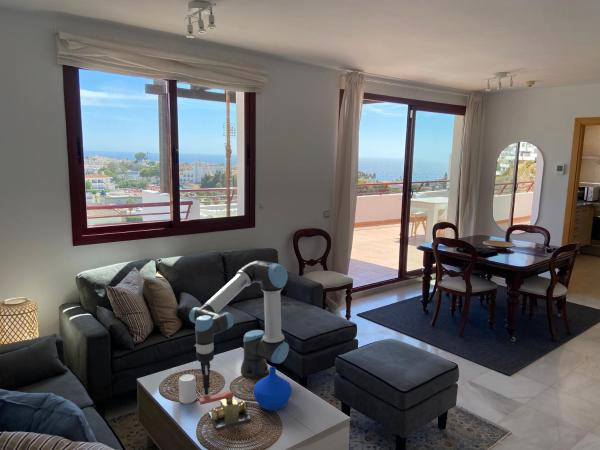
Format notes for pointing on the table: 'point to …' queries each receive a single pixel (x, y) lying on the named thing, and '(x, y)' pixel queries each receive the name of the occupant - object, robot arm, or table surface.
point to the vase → (272, 391)
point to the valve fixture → (229, 413)
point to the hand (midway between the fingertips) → (206, 399)
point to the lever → (216, 397)
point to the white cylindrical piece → (187, 388)
